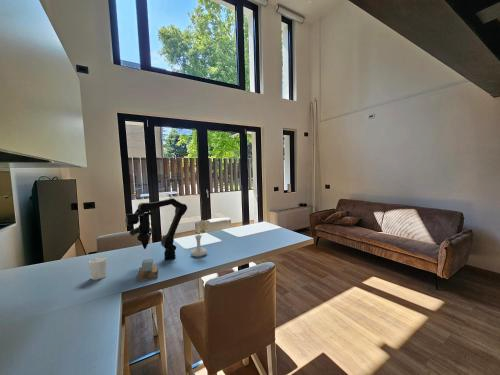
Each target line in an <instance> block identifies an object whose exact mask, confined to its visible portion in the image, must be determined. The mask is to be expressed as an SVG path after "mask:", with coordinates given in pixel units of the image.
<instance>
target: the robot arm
mask: <svg viewBox="0 0 500 375" xmlns="http://www.w3.org/2000/svg"><path fill="white" fill-rule="evenodd" d="M170 205H171V206H173V207H174V208H175V209H174V216H173V219H172V220H171V221H172V222H171V224H170V226H169V229H168V231H167V233H166V235H162V238H161V240H160V245H161V246H162V247H163V248H164V260H165V261H168V260H175V259H176V257H177V256H176V250H177V245H174V242H175V241H174V240H175V239H174V238H175V234H176V231H177V230H178V226H179V225H180V224H179V223H180V222H181V219H182V217H183V215H185V214H186V212H187V211H188V206H187V204H186V203H182V202H180V201H178V200H177V199H176V198H168V199H164V200H163V199H162V200H158V201H155V202H141V203H139V204H138V205H137V209H136V210H135V212H134V213H126V214H125V219H124V221H125V225H126V226H133V225H137V224H139V225H138V226H137V227H134V228H131V229H130V230H129V235H131V237H133V236H134V235H137V234H138V236H137V241H140V242H141V244H142V247H143V249H144V250H147V247H148V245H149V242H150V239H151V237H152V234H153V228H152V227H151V226H150V225H151V223H150V216H153V215H154V214H153V213H152V212H151V211H152V210H155V209H158V208H162V207H167V206H170Z"/></svg>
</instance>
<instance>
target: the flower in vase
mask: <svg viewBox="0 0 500 375" xmlns="http://www.w3.org/2000/svg"><path fill="white" fill-rule="evenodd" d="M198 226H199V228H200V229H199V230H200V231H199V232H195V234H197V235H195V236H194V238H195V239H196V246H195V247H194V249H192V250H191V252H190V256H192V257H199V258H200V257H203V256H205V255H206V254H208V251H207V249H206V248H205V247H202V246H201V239H202V235H201V234H204V233H206V230H207V229H209V228H208V226H209V225H208V223H207V221H205V220H204V219H200V220H199V221H198Z"/></svg>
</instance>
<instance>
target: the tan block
mask: <svg viewBox="0 0 500 375" xmlns="http://www.w3.org/2000/svg"><path fill="white" fill-rule="evenodd" d="M136 276H137V282H141V281H146V280H152V279H157V278H158V277H159V264H153V269H152V271H146V272H142V266H140V267H139V268H138V271H137V274H136Z"/></svg>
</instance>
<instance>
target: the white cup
mask: <svg viewBox="0 0 500 375" xmlns="http://www.w3.org/2000/svg"><path fill="white" fill-rule="evenodd" d="M88 265H89V270H90V277H91V279H92V280H95V281H97V280H101V279H104V278H106V276H107V257H103V256H102V257H97V258H92V259H91V260H89V261H88Z"/></svg>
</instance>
